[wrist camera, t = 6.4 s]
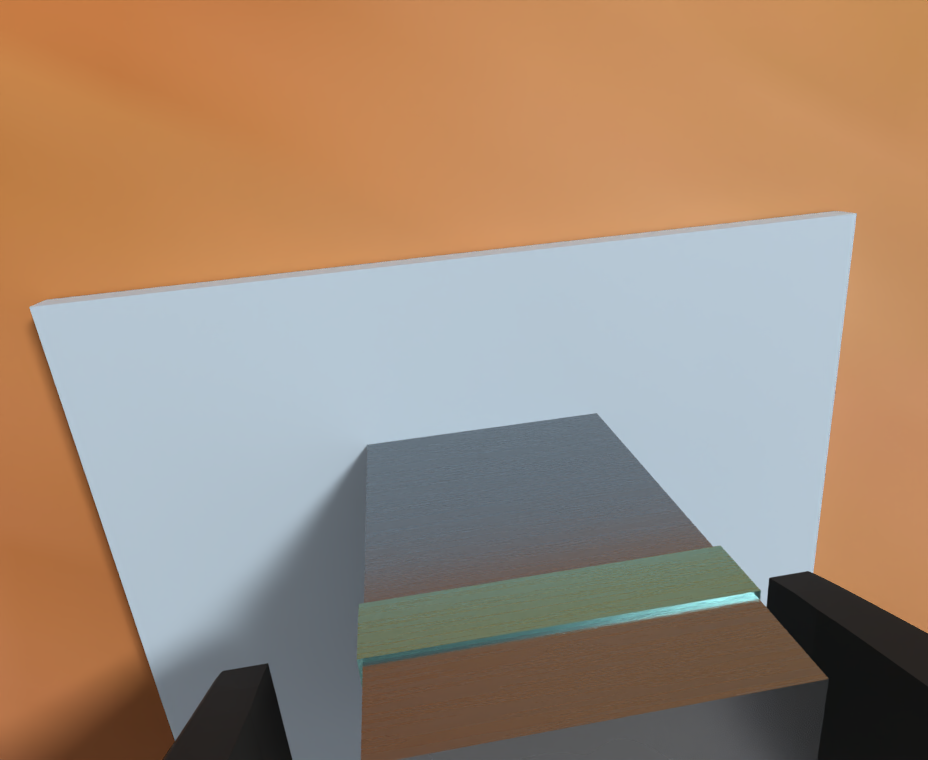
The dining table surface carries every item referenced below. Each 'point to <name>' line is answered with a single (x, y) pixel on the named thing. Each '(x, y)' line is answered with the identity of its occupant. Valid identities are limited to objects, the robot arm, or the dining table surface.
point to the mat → (431, 422)
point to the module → (562, 611)
